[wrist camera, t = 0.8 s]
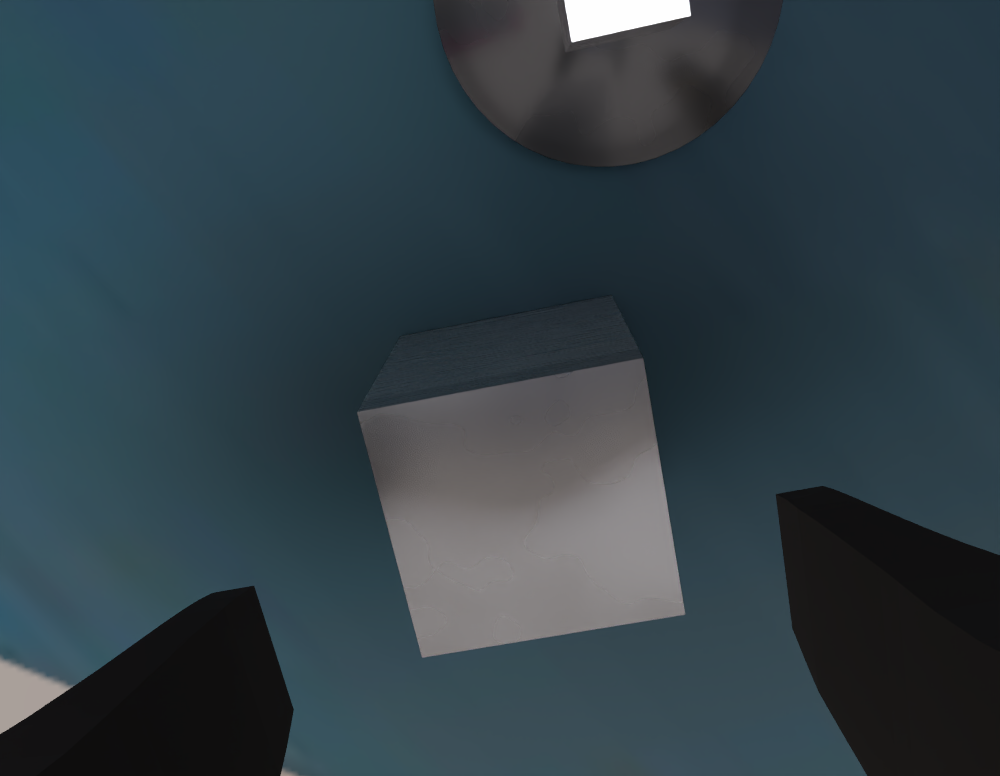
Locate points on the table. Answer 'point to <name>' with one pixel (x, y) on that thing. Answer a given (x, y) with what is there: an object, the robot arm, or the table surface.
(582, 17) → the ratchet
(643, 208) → the table surface
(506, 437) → the brushed metal cube
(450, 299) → the table surface
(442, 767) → the table surface
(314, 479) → the table surface
